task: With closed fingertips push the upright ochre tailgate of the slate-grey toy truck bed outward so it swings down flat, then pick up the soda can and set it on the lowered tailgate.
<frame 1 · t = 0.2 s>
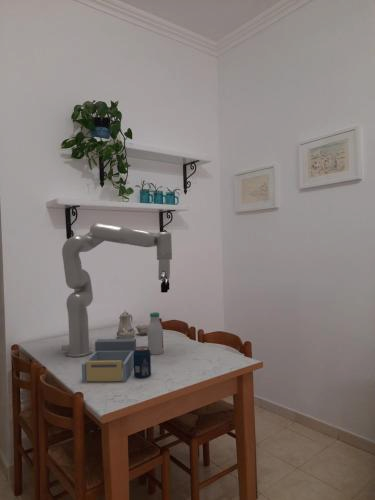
hand: (165, 291, 178), 31 cm above the table, fingers open, 9 cm apart
milk bottle: (155, 353, 179), on the table
chinaware: (130, 338, 209), on the table
tailgate: (104, 372, 140), point 5 cm above the table, hinge at -2.0°
soda can: (142, 377, 146), on the table
truck bed: (110, 375, 149), on the table
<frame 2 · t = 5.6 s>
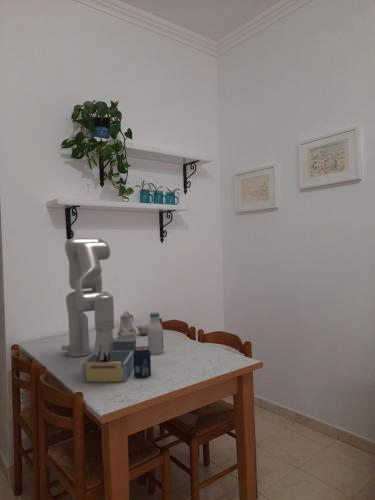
hand: (106, 371, 143), 4 cm above the table, fingers closed
tailgate: (103, 372, 140), point 5 cm above the table, hinge at 7.8°, touching gripper
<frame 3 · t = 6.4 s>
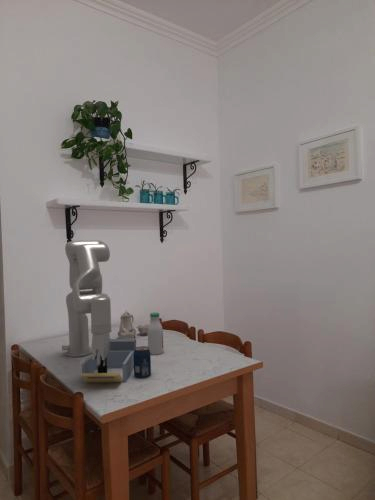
hand: (102, 375, 138), 4 cm above the table, fingers closed
tailgate: (102, 378, 137), point 3 cm above the table, hinge at 50.4°
everything else where it was.
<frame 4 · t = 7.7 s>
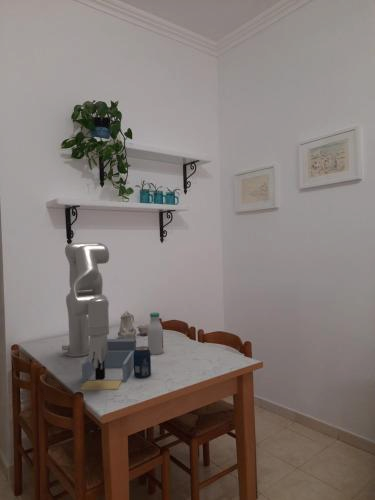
hand: (100, 378, 135), 4 cm above the table, fingers closed
tailgate: (101, 385, 137), point 1 cm above the table, hinge at 90.3°
everything else where it was.
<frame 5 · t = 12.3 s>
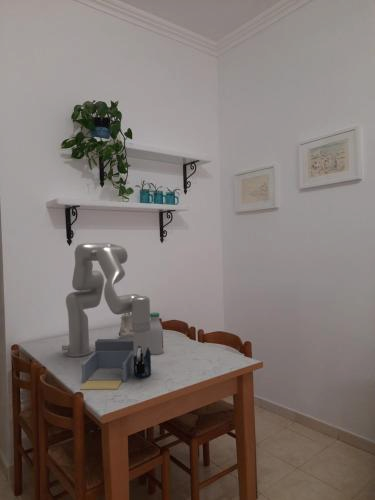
hand: (142, 369, 146), 3 cm above the table, fingers closed on soda can, 6 cm apart
soda can: (142, 377, 146), on the table, touching gripper
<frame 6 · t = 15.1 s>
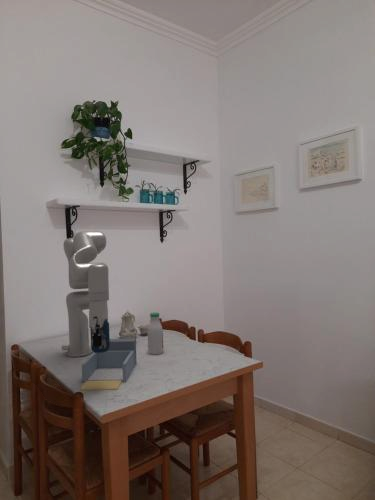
hand: (100, 342, 136), 17 cm above the table, fingers closed on soda can, 6 cm apart
soda can: (100, 351, 136), point 14 cm above the table, touching gripper
when the fingers open (5 cm above the table, at t = 17.9 s): soda can stays where it is, resting on tailgate.
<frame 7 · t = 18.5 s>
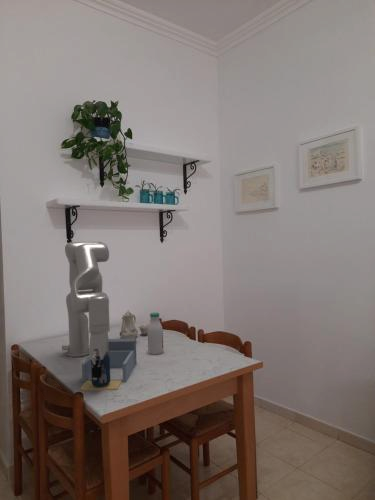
hand: (100, 372, 136), 6 cm above the table, fingers open, 9 cm apart
tailgate: (101, 385, 137), point 1 cm above the table, hinge at 90.4°, touching soda can
soda can: (101, 385, 136), point 1 cm above the table, touching tailgate
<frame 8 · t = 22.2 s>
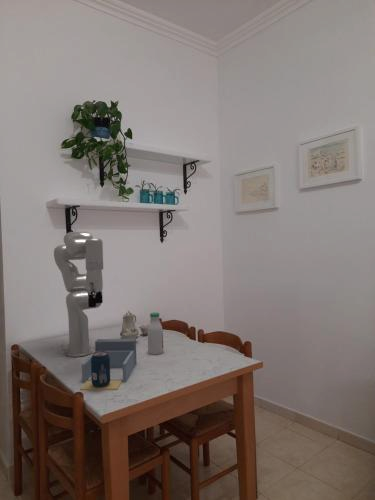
hand: (95, 305, 158), 28 cm above the table, fingers open, 9 cm apart
at the end: tailgate at +90° (first picture: -2°); soda can inside the target area (0.2 cm from its centre), point 1.2 cm above the table; soda can tilted 0° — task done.
